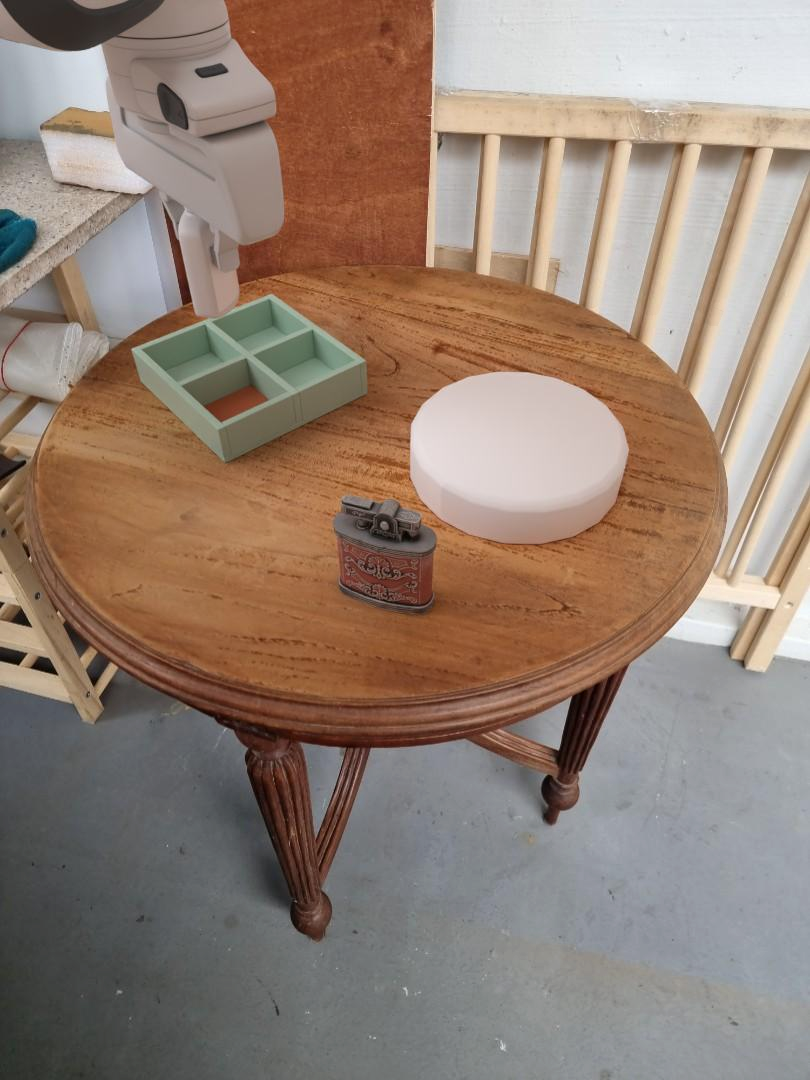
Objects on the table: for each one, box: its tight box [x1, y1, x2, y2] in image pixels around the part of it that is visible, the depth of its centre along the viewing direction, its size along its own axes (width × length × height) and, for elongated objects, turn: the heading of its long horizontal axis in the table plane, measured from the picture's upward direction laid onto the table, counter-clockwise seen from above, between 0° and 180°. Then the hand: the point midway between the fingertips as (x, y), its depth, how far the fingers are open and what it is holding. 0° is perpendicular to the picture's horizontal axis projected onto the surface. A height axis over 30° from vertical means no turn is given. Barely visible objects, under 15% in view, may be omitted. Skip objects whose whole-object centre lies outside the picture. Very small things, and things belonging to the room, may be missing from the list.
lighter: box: [332, 494, 438, 615], centre depth 60 cm, size 8×3×10 cm, turn 71°
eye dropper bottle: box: [178, 207, 240, 319], centre depth 64 cm, size 4×6×12 cm
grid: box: [131, 293, 368, 464], centre depth 81 cm, size 17×17×4 cm
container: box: [409, 371, 630, 545], centre depth 72 cm, size 20×20×5 cm
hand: (208, 254), depth 65 cm, fingers closed on eye dropper bottle, 4 cm apart
